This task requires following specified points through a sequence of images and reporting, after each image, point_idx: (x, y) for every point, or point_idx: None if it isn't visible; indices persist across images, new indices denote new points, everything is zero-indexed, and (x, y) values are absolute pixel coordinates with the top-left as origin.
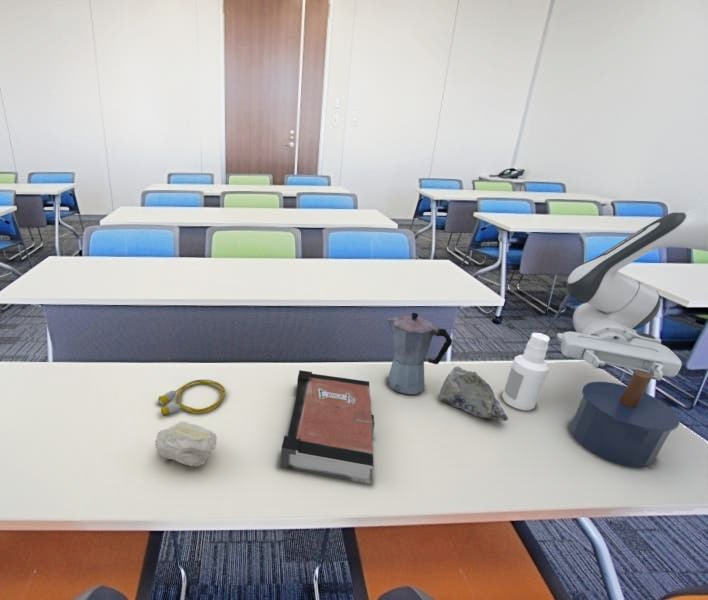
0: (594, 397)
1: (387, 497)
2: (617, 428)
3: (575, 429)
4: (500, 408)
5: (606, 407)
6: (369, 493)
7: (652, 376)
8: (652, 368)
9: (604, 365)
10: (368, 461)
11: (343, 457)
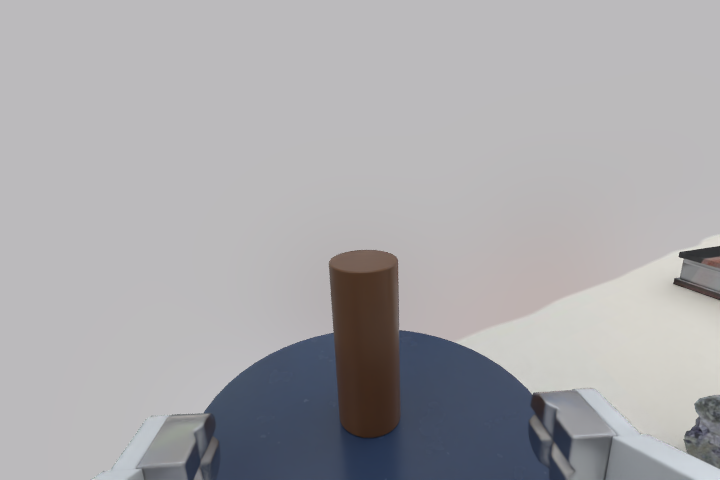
0: (496, 395)
1: (641, 281)
2: None
3: None
4: (717, 395)
5: (450, 361)
6: (659, 278)
7: (216, 441)
8: (177, 459)
9: (531, 404)
10: (691, 253)
11: (715, 249)
